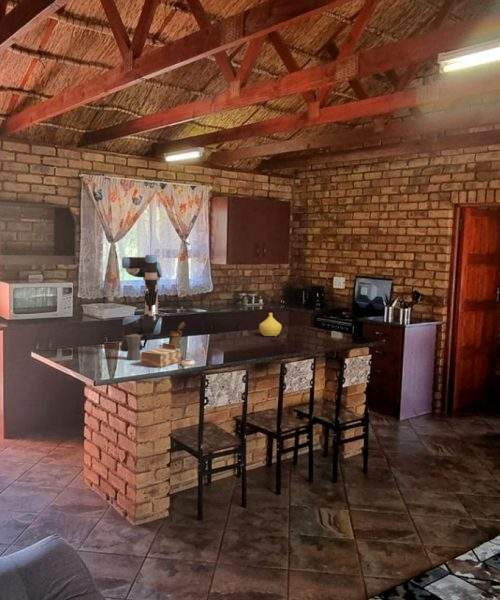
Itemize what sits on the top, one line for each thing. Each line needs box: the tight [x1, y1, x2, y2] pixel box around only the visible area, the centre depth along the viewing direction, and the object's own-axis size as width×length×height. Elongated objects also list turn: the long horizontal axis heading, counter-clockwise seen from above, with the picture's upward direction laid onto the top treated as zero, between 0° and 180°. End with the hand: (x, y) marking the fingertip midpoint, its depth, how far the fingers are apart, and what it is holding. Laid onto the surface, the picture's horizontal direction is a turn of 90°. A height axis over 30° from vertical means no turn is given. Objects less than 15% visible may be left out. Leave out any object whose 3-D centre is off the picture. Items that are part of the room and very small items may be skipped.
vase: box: [258, 312, 282, 337], centre depth 458 cm, size 18×18×19 cm
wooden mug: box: [168, 321, 186, 349], centre depth 401 cm, size 9×14×18 cm, turn 134°
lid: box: [143, 342, 181, 356], centre depth 341 cm, size 19×14×4 cm
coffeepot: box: [124, 331, 149, 361], centre depth 354 cm, size 15×9×18 cm, turn 90°
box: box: [140, 350, 181, 369], centre depth 341 cm, size 20×15×8 cm
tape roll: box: [180, 359, 196, 367], centre depth 340 cm, size 8×8×3 cm
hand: (150, 315), depth 358 cm, fingers closed
